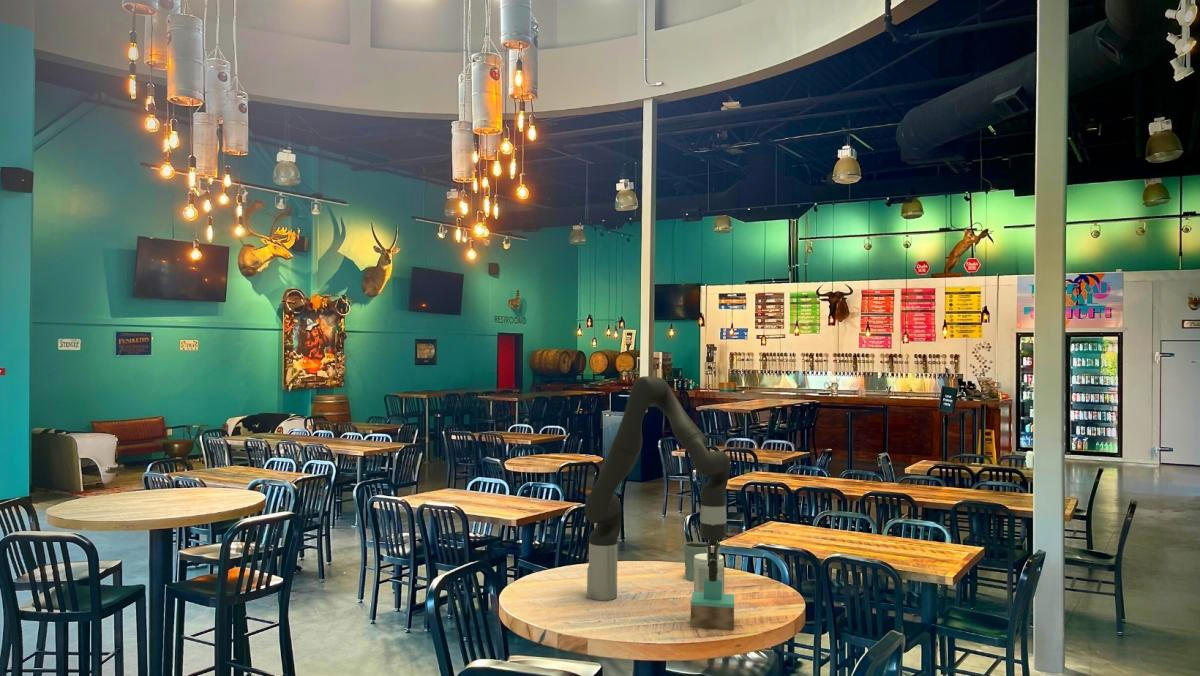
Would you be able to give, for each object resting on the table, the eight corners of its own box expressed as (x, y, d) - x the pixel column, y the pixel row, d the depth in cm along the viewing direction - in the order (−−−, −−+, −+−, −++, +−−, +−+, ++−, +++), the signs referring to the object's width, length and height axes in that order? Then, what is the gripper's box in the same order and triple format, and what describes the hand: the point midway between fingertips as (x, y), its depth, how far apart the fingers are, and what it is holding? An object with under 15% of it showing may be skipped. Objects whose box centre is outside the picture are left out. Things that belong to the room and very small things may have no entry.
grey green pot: (677, 578, 290) (677, 543, 290) (696, 573, 297) (696, 539, 297) (699, 584, 282) (700, 548, 283) (718, 579, 289) (718, 544, 290)
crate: (690, 630, 234) (690, 605, 234) (692, 619, 244) (692, 595, 244) (733, 632, 232) (733, 607, 232) (733, 621, 242) (734, 597, 242)
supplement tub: (730, 604, 259) (730, 557, 259) (707, 609, 254) (707, 561, 254) (710, 597, 267) (710, 551, 267) (687, 601, 262) (687, 555, 262)
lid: (690, 609, 234) (690, 583, 234) (692, 599, 244) (693, 574, 244) (733, 612, 232) (733, 586, 232) (734, 601, 242) (734, 577, 242)
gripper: (701, 515, 246) (701, 570, 246) (698, 524, 232) (698, 583, 232) (726, 516, 245) (727, 571, 244) (725, 525, 231) (726, 584, 230)
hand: (713, 577), depth 238 cm, fingers open, 8 cm apart
